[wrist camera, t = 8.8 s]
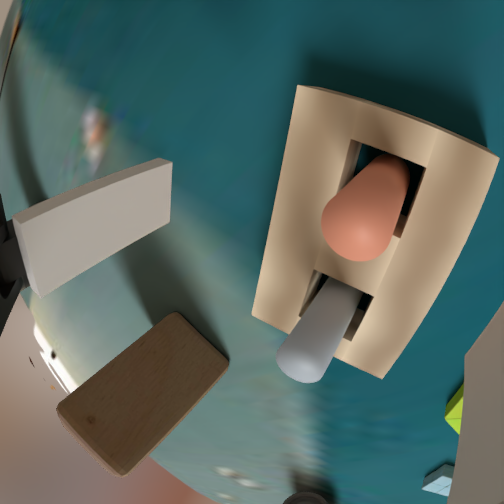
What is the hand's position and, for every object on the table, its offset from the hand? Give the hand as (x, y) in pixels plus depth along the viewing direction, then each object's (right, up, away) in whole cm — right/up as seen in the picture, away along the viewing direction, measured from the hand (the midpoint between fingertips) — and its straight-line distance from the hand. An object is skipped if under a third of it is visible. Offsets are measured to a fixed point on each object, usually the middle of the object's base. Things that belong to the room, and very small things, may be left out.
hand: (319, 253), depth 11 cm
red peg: (+7, +5, +9) cm, 13 cm away
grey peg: (+5, -2, +14) cm, 16 cm away
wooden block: (-10, -13, +31) cm, 35 cm away
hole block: (+6, +2, +12) cm, 13 cm away
